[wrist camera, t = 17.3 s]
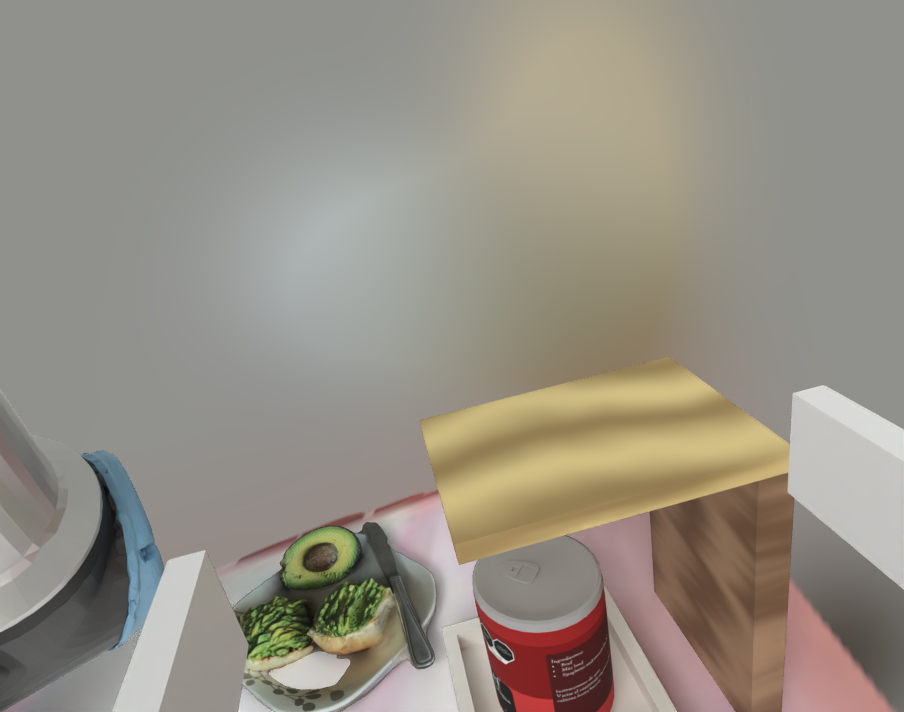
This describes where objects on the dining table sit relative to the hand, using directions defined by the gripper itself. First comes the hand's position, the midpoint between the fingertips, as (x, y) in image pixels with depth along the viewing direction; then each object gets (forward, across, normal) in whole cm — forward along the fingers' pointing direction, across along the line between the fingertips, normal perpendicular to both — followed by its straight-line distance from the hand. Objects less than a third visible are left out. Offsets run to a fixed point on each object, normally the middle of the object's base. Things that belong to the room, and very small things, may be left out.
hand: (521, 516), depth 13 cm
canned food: (+17, +3, -30) cm, 34 cm away
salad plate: (+30, -12, -31) cm, 45 cm away
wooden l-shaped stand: (+17, +7, -30) cm, 35 cm away
